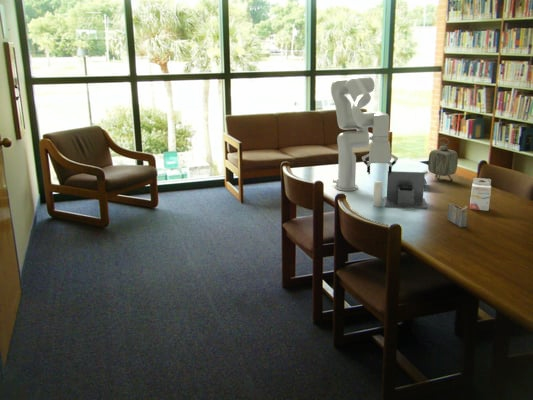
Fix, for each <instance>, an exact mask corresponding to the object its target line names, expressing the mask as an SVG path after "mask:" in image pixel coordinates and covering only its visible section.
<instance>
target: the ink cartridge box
mask: <svg viewBox="0 0 533 400" xmlns="http://www.w3.org/2000/svg"><path fill="white" fill-rule="evenodd" d="M491 184H492V179H490V178H482V177H474V178H473V179H472V185H471V193H470V200H469V209H470V210H475V211H477V210H478V211H487V212H488V211H489V210H490V203H491V202H490V201H491V192H492V185H491Z"/></svg>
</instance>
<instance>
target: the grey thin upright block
mask: <svg viewBox="0 0 533 400" xmlns="http://www.w3.org/2000/svg"><path fill="white" fill-rule="evenodd" d="M468 208H470V205H469V206H467V204H465V205H463V207H461V206H459V205H457V204H454V203H448V204H447V214H446V220H448V222H449V221H450V222H451V223H453V224H455V225H457V226H458V227H460V228H464V227H467V221H468V220H467V219H468V210H467V209H468Z"/></svg>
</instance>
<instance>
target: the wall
mask: <svg viewBox="0 0 533 400" xmlns="http://www.w3.org/2000/svg"><path fill="white" fill-rule="evenodd" d="M423 172H425V177H424V186H425V185H427V184H428V182H427V180H426V177H427V176H429V175H431V174H432V173H431V172H429V170H424V171H423Z"/></svg>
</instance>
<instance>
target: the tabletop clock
mask: <svg viewBox="0 0 533 400" xmlns="http://www.w3.org/2000/svg"><path fill="white" fill-rule="evenodd" d="M442 139H443V140H447V141H448V142H447V143H445V142H441V140H442ZM438 142H439V144H440V146H439V148H438V149H433V150H431V151H430V152H429V155H428V162H427V163H428V165H427V166H428V167H427V169H428V170H427V171H428V172H431V174H433V175H434V177H435V178H437V179H436V180H437V181H438V182H439V181H441V177H448V178H449V181H450V182H453V180H454V179H453V178H452V177H451V176H452V175H456V173H457V170H458V164H459V163H458V162H459V159H458V157H459V155H458V152H457V151H456V150H452V149H449V148H448V145H449V144H450V139H448V138H447V137H440V138H439V140H438Z"/></svg>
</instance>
